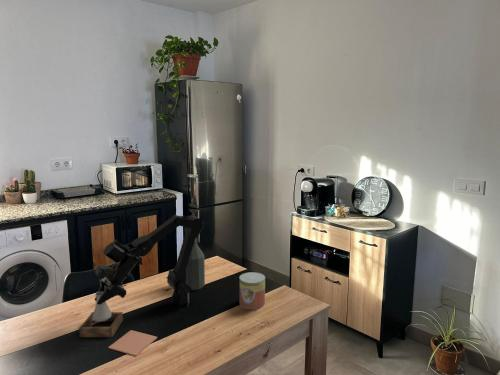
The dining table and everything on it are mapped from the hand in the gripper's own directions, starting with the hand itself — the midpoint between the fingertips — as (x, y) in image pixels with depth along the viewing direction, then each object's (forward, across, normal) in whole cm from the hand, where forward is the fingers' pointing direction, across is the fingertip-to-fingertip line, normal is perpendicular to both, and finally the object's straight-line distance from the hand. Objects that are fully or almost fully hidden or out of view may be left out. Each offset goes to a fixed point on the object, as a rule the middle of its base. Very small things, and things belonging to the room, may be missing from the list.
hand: (96, 302), depth 144 cm
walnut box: (+7, 0, +9) cm, 11 cm away
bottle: (-25, -13, +42) cm, 51 cm away
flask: (+4, 0, +6) cm, 7 cm away
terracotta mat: (+3, +17, +13) cm, 21 cm away
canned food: (-34, +18, +51) cm, 64 cm away
